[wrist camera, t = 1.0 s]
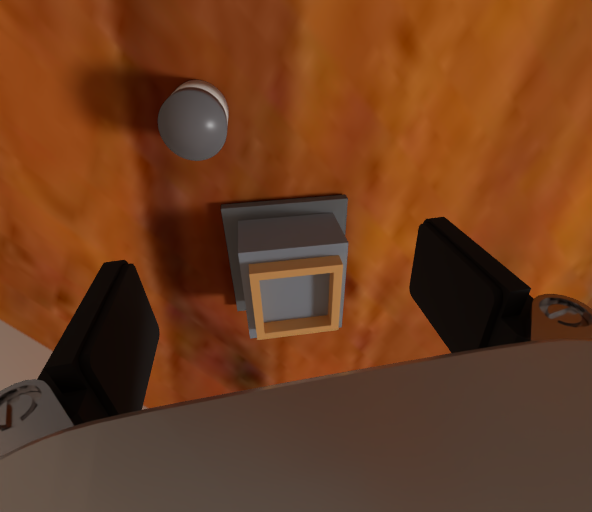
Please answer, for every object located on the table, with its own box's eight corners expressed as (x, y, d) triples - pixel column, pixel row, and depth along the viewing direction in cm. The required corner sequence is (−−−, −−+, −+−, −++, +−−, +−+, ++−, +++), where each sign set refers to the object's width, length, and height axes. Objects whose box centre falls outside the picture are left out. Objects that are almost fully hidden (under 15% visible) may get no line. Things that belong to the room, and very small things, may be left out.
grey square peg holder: (221, 204, 34) (217, 249, 27) (345, 194, 36) (371, 235, 29) (237, 305, 42) (237, 360, 35) (338, 294, 44) (357, 345, 37)
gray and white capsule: (165, 81, 28) (149, 93, 23) (224, 78, 28) (221, 89, 23) (178, 140, 30) (166, 162, 25) (231, 137, 31) (230, 158, 26)
